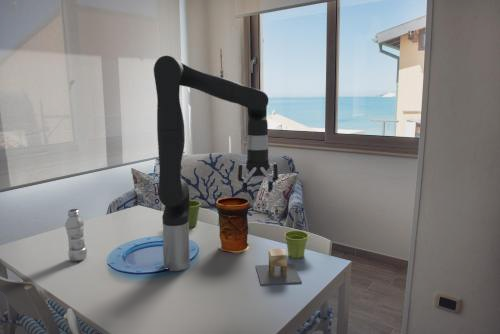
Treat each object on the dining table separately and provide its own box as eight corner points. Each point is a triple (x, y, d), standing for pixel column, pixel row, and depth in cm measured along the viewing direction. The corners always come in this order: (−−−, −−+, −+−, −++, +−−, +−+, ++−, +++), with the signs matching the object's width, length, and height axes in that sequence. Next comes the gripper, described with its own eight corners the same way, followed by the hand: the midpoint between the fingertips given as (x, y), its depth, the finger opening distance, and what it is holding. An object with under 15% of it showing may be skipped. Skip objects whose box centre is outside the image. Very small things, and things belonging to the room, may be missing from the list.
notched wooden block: (271, 277, 130) (271, 255, 129) (268, 270, 135) (268, 249, 134) (286, 276, 131) (286, 255, 129) (283, 269, 136) (283, 248, 134)
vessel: (209, 250, 154) (209, 203, 150) (225, 238, 167) (224, 195, 163) (242, 256, 149) (242, 207, 145) (255, 243, 162) (255, 198, 158)
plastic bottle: (91, 257, 148) (86, 208, 144) (76, 264, 142) (71, 214, 138) (79, 254, 150) (74, 206, 147) (64, 261, 144) (59, 211, 141)
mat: (260, 285, 126) (260, 284, 125) (255, 266, 139) (255, 265, 139) (301, 283, 127) (301, 281, 127) (292, 264, 141) (292, 263, 141)
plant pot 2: (307, 261, 143) (308, 240, 142) (282, 259, 145) (283, 238, 144) (308, 251, 152) (309, 231, 151) (285, 249, 154) (285, 229, 153)
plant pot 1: (190, 231, 175) (189, 208, 173) (171, 226, 182) (170, 204, 179) (206, 224, 185) (205, 202, 183) (188, 220, 191) (187, 198, 189)
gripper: (238, 149, 128) (238, 195, 132) (279, 148, 130) (279, 194, 133) (236, 146, 136) (237, 190, 139) (275, 145, 137) (275, 188, 140)
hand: (257, 191), depth 136 cm, fingers open, 8 cm apart
